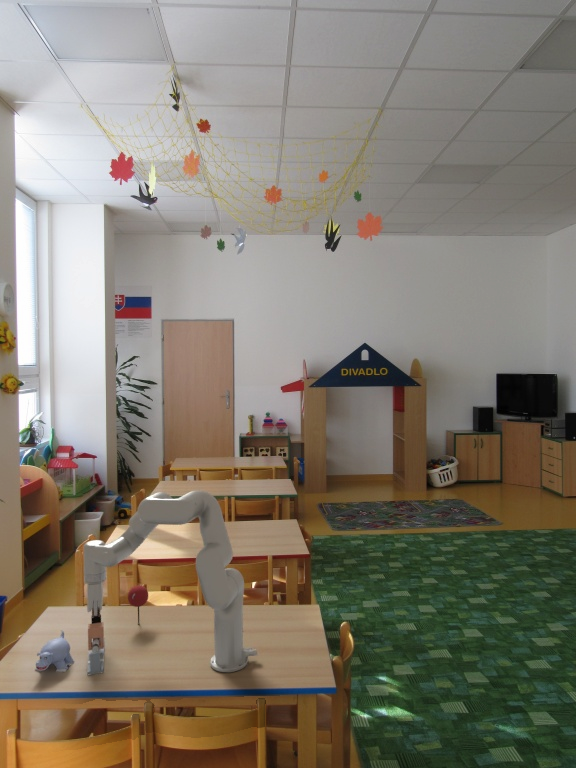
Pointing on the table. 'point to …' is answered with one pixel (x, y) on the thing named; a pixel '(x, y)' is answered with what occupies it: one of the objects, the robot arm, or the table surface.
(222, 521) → the robot arm
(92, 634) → the collar
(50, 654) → the hippopotamus toy
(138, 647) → the table surface
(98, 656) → the rail
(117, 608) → the table surface
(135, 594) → the lollipop
